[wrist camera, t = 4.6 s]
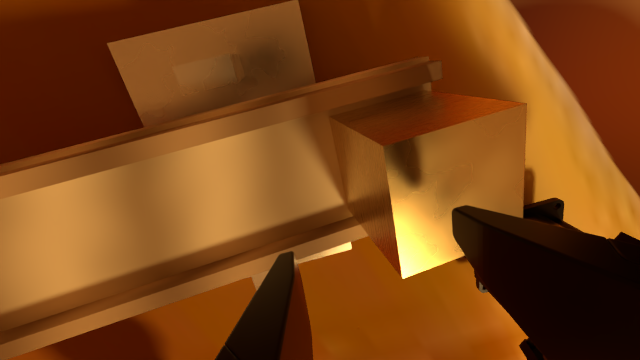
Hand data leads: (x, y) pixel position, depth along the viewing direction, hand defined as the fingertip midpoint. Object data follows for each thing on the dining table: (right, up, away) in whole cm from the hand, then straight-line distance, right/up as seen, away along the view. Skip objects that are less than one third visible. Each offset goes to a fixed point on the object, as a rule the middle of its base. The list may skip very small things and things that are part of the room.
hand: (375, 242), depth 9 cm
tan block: (+2, +3, +7) cm, 8 cm away
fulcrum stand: (-6, +3, +11) cm, 13 cm away
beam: (-9, 0, +6) cm, 11 cm away
